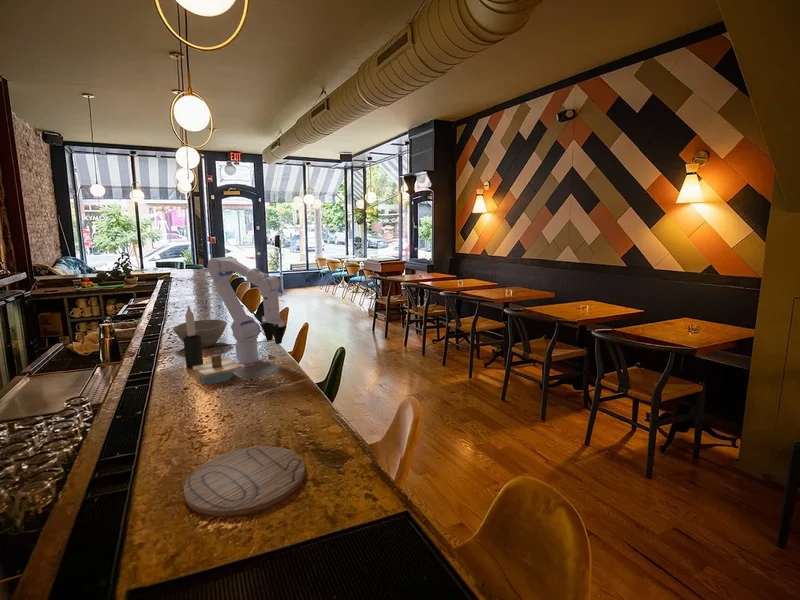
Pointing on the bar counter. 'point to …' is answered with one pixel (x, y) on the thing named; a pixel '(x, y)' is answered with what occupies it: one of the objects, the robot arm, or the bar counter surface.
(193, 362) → the candle
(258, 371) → the tray
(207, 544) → the bar counter surface
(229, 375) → the dish
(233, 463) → the trivet
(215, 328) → the ceramic bowl
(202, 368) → the lid
